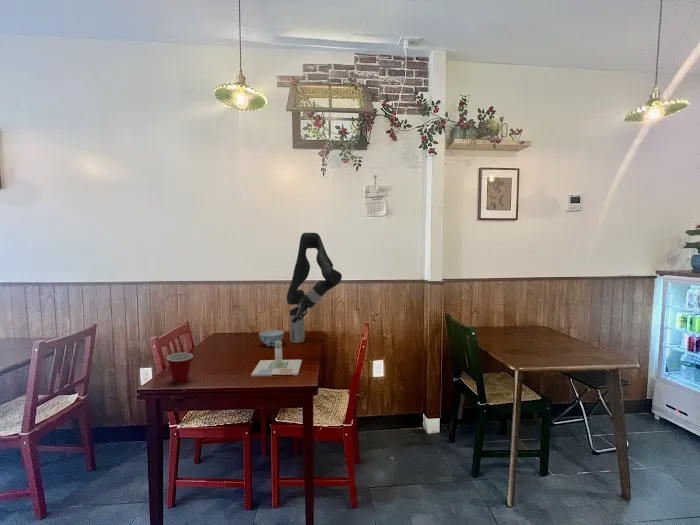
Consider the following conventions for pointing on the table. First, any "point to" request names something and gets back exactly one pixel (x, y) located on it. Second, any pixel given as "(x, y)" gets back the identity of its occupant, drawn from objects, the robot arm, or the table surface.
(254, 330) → the table surface
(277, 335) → the chinaware
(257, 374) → the picture board
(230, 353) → the table surface
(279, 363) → the marker
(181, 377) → the plastic cup
